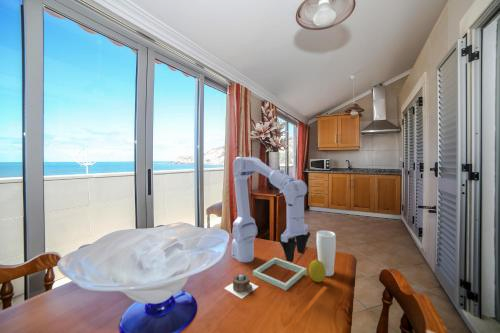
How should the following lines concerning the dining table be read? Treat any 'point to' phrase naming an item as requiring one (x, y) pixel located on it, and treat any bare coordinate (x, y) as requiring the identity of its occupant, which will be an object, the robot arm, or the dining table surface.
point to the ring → (242, 284)
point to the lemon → (317, 271)
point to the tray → (284, 264)
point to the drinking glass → (326, 250)
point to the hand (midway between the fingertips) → (295, 256)
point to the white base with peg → (241, 294)
